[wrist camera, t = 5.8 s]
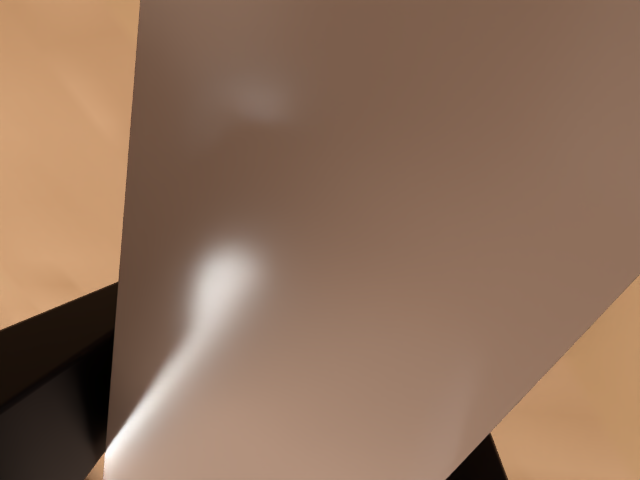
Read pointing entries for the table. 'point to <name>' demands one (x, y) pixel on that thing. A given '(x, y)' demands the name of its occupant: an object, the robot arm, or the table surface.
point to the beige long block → (363, 228)
